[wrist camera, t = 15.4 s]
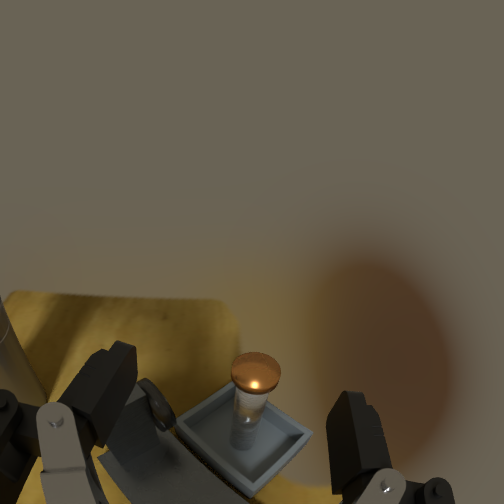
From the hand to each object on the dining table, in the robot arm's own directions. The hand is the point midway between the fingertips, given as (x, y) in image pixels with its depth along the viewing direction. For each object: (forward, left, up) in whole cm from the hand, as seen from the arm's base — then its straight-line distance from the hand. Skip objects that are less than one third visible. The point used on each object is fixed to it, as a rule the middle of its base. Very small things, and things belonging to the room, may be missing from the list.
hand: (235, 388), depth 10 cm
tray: (-5, +9, -27) cm, 29 cm away
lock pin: (-5, +9, -26) cm, 28 cm away
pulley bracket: (-4, -2, -27) cm, 27 cm away
